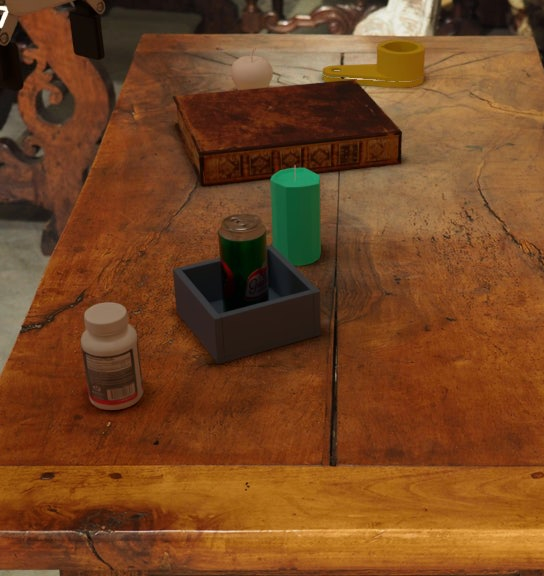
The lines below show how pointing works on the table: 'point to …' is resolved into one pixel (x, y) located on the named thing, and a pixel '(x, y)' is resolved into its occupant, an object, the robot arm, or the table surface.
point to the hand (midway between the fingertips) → (50, 71)
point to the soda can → (243, 261)
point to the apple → (251, 72)
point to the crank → (386, 66)
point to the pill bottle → (111, 357)
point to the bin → (247, 309)
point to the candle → (296, 215)
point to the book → (284, 131)
